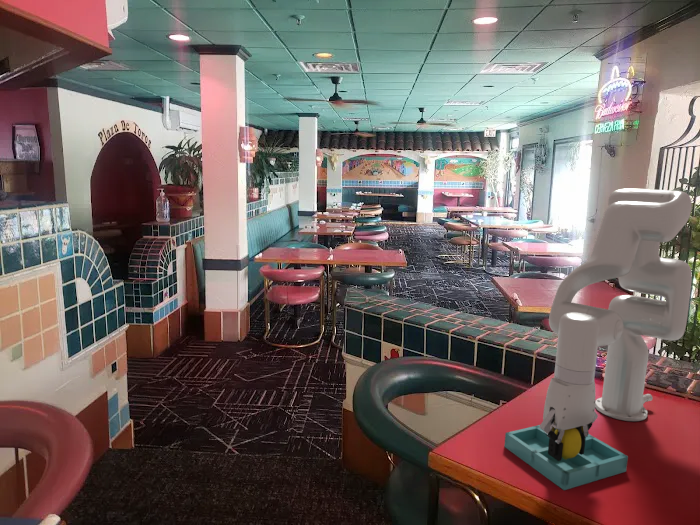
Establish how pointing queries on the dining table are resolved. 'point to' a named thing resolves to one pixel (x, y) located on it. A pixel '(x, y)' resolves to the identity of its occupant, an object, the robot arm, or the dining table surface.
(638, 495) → the dining table surface
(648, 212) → the robot arm
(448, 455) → the dining table surface
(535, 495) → the dining table surface
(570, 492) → the dining table surface
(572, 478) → the square compartment tray
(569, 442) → the lemon
